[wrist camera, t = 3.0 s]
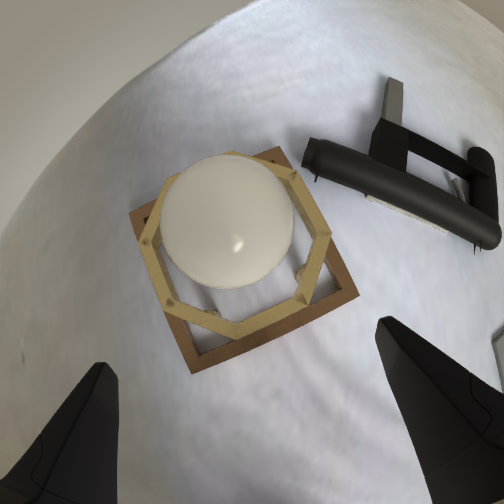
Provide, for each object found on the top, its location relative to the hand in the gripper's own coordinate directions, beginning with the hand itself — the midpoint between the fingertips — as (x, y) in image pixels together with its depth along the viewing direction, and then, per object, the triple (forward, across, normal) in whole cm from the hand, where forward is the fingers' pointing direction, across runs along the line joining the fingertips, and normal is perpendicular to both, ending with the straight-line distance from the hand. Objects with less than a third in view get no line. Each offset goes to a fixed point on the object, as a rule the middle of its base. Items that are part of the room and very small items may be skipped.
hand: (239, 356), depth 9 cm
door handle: (+18, -18, 0) cm, 25 cm away
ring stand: (+13, 0, +5) cm, 13 cm away
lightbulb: (+13, 0, +5) cm, 14 cm away
